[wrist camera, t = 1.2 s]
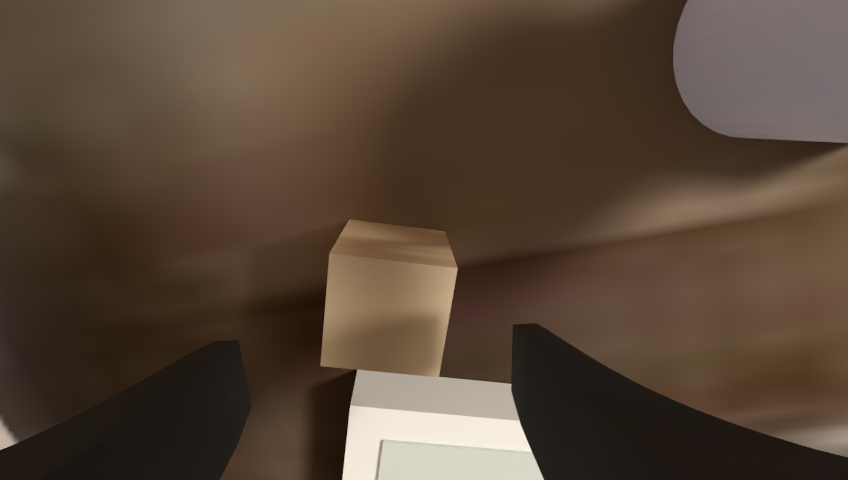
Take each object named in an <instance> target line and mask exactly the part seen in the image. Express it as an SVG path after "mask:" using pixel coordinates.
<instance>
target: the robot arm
mask: <svg viewBox="0 0 848 480" xmlns="http://www.w3.org/2000/svg"><path fill="white" fill-rule="evenodd" d="M673 68H674V74H675V80H676V85H677V87H678V90H679V93H680V95H681V98H682V100H683V102H684V103H685V105H686V106H687V108H688V109H689V111H690V112H691V114H692V115H693V116H694V117H695V118H696V119H697V120H699V121H700V122H701V123H702V124H703V125H704V126H706V127H708V128H710V129H711V130H713V131H715V132H717V133H720V134H723V135H727V136H730V137H739V138H756V139H776V140H796V141H817V142H837V143H848V0H688V1H687V2H686V4H685V7H684V9H683V12H682V15H681V17H680V20H679V23H678V26H677V31H676V36H675V41H674V49H673ZM511 392H512V395H513V399H514V403H515V407H516V410H517V414H518V417H519V420H520V424H521V427H522V429H523V432H524V434H525V436H526V439H527V441H528V444H529V446H530V448H531V451H532V453H533V455H534V458H535V460H536V462H537V465H538V467H539V469H540V472H541V474H542V476H543V479H544V480H848V458H847V457H844V456H840V455H836V454H832V453H828V452H824V451H820V450H816V449H812V448H809V447H805V446H802V445H798V444H795V443H792V442H789V441H785V440H782V439H779V438H775V437H772V436H769V435H766V434H762V433H759V432H756V431H753V430H750V429H747V428H744V427H741V426H739V425H736V424H733V423H730V422H727V421H725V420H722V419H719V418H717V417H714V416H711V415H709V414H706V413H703V412H701V411H698V410H696V409H693V408H691V407H688V406H686V405H683V404H681V403H679V402H676V401H674V400H672V399H670V398H667V397H665V396H663V395H661V394H659V393H657V392H654V391H652V390H650V389H648V388H646V387H644V386H642V385H640V384H638V383H636V382H634V381H632V380H630V379H628V378H626V377H624V376H623V375H621V374H619V373H617V372H615V371H613V370H612V369H610V368H608V367H606V366H605V365H603V364H601V363H599V362H598V361H596V360H594V359H593V358H591V357H589V356H588V355H586V354H584V353H583V352H581V351H580V350H578V349H576V348H575V347H573V346H572V345H570V344H569V343H567V342H565V341H564V340H562V339H561V338H559V337H558V336H556V335H555V334H553V333H551V332H550V331H548V330H547V329H545V328H543V327H542V326H540V325H538V324H536V323H534V324H516V325H513V342H512V380H511ZM250 408H251V404H250V399H249V394H248V389H247V383H246V378H245V373H244V367H243V362H242V357H241V352H240V346H239V341H238V340H234V341H216V342H213V343H210V344H208V345H206V346H204V347H202V348H200V349H198V350H196V351H194V352H192V353H190V354H188V355H187V356H185V357H183V358H181V359H180V360H178V361H176V362H174V363H173V364H171V365H169V366H167V367H166V368H164V369H162V370H160V371H159V372H157V373H155V374H153V375H152V376H150V377H148V378H146V379H145V380H143V381H141V382H139V383H137V384H136V385H134V386H132V387H130V388H128V389H126V390H125V391H123V392H121V393H119V394H117V395H115V396H113V397H111V398H110V399H108V400H106V401H104V402H102V403H100V404H98V405H97V406H95V407H93V408H91V409H89V410H87V411H85V412H83V413H81V414H79V415H77V416H75V417H73V418H71V419H69V420H67V421H65V422H63V423H61V424H59V425H56V426H54V427H52V428H50V429H48V430H46V431H43V432H41V433H39V434H37V435H35V436H32V437H30V438H28V439H26V440H24V441H21V442H19V443H17V444H14V445H12V446H10V447H7V448H5V449H2V450H0V480H220V478H221V476H222V474H223V472H224V470H225V468H226V466H227V464H228V462H229V460H230V458H231V456H232V454H233V452H234V450H235V448H236V446H237V444H238V442H239V439H240V437H241V434H242V431H243V429H244V426H245V423H246V420H247V417H248V414H249V411H250Z"/></svg>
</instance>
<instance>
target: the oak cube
mask: <svg viewBox="0 0 848 480" xmlns="http://www.w3.org/2000/svg"><path fill="white" fill-rule="evenodd" d="M457 270H458V268H457V265H456V262H455V259H454V256H453V253H452V250H451V247H450V245H449V242H448V239H447V236H446V233H445V231H439V230H431V229H423V228H415V227H407V226H399V225H391V224H383V223H375V222H367V221H359V220H351V219H349V221H348V222H347V224H346V226H345V227H344V229H343V231H342V233H341V234H340V236H339V238H338V239H337V241H336V243H335V244H334V246H333V248H332V250H331V251H330V253H329V265H328V277H327V290H326V302H325V315H324V328H323V340H322V353H321V365H320V366H325V367H336V368H346V369H356V370H366V371H377V372H387V373H397V374H408V375H418V376H428V377H438V378H439V373H440V367H441V361H442V355H443V350H444V344H445V338H446V333H447V327H448V321H449V315H450V310H451V304H452V298H453V292H454V287H455V281H456V275H457Z"/></svg>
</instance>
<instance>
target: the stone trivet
mask: <svg viewBox="0 0 848 480" xmlns="http://www.w3.org/2000/svg"><path fill="white" fill-rule="evenodd" d="M342 480H544V479H543V476H542V474H541V472H540V469H539V467H538V465H537V462H536V460H535V458H534V455H533V453H532V451H531V448H530V446H529V444H528V441H527V439H526V436H525V434H524V432H523V429H522V427H521V424H520V420H519V417H518V414H517V410H516V407H515V403H514V399H513V395H512V392H511V384H507V383H497V382H487V381H477V380H466V379H456V378H446V377H439V378H438V377H428V376H418V375H408V374H397V373H387V372H377V371H366V370H357V374H356V379H355V384H354V389H353V394H352V399H351V404H350V412H349V421H348V431H347V440H346V450H345V459H344V468H343V478H342Z"/></svg>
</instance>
